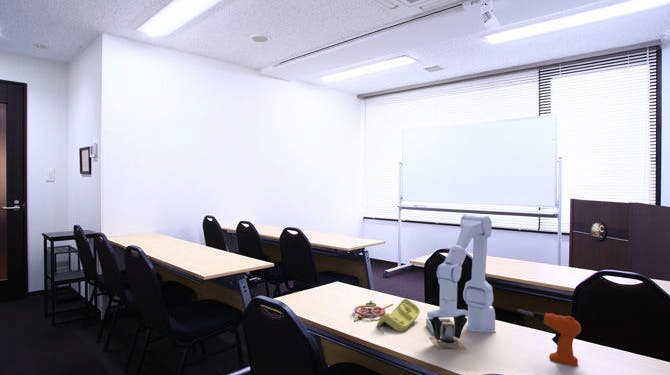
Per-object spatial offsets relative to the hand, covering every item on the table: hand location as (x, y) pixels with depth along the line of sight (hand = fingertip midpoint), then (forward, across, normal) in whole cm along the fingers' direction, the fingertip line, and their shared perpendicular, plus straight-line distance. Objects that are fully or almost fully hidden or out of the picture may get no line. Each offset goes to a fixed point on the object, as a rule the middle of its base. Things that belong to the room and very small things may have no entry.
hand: (447, 338), depth 129 cm
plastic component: (+3, +8, -22) cm, 23 cm away
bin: (+2, -4, -11) cm, 12 cm away
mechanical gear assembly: (+3, +13, -36) cm, 39 cm away
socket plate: (+2, 0, 0) cm, 2 cm away
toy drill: (+2, -26, +16) cm, 31 cm away
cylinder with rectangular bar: (+2, 0, 0) cm, 2 cm away
